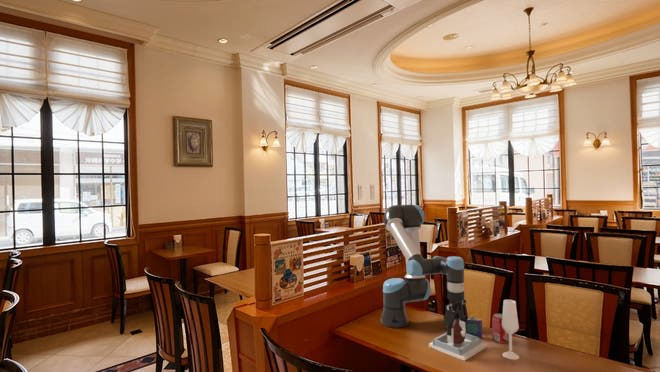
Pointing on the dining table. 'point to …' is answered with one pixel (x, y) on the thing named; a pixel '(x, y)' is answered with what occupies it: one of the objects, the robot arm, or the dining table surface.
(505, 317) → the champagne flute
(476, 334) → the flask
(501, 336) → the soda can
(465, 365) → the dining table surface
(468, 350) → the white square tray
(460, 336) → the poop emoji
